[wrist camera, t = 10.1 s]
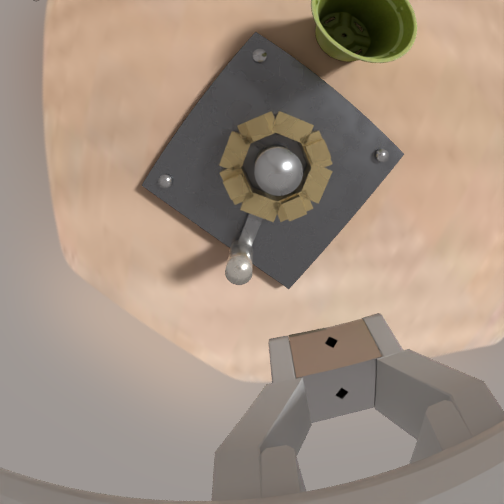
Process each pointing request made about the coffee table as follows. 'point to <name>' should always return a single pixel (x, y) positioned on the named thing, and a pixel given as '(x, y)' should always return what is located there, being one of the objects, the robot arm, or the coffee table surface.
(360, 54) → the plant pot
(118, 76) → the coffee table surface
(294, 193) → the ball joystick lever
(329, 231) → the flange plate
